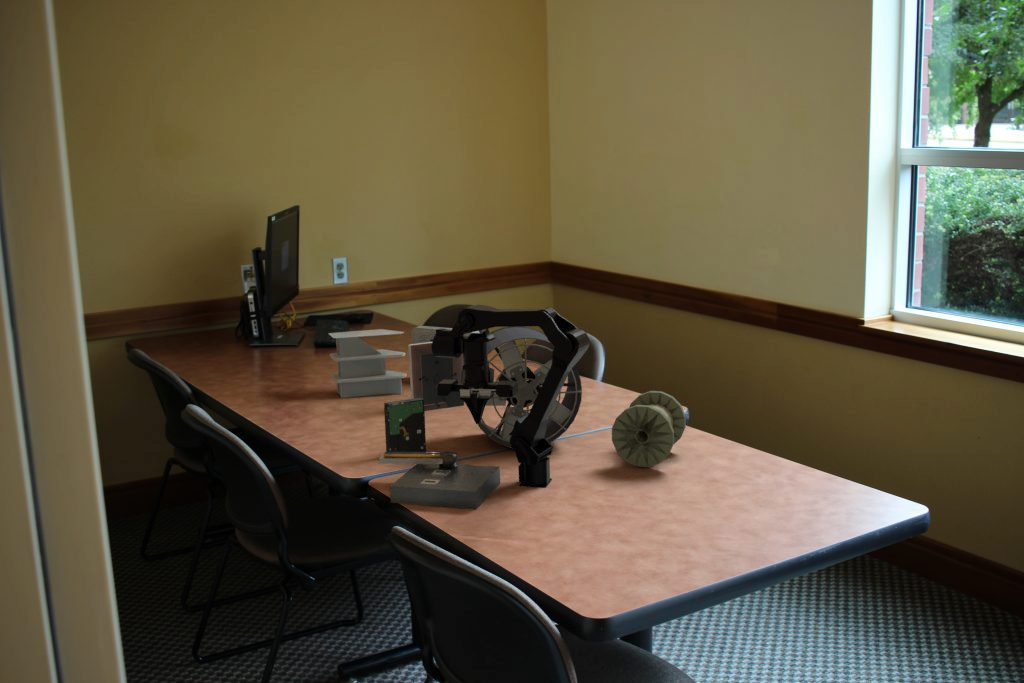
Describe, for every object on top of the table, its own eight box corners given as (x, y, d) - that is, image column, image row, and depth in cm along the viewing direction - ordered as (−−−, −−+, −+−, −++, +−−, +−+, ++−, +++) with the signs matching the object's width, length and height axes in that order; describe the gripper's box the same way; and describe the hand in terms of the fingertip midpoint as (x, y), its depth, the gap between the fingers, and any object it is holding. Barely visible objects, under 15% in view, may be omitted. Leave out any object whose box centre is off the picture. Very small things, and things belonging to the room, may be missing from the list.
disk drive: (422, 451, 259) (420, 396, 257) (427, 454, 257) (424, 398, 254) (385, 458, 254) (382, 402, 252) (389, 461, 252) (386, 404, 249)
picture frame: (460, 407, 305) (458, 338, 301) (464, 408, 303) (461, 339, 299) (411, 415, 297) (407, 344, 294) (414, 417, 295) (411, 345, 291)
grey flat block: (500, 483, 232) (499, 465, 232) (476, 509, 215) (475, 490, 215) (420, 478, 238) (419, 460, 237) (390, 503, 221) (389, 484, 220)
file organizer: (309, 397, 325) (304, 332, 321) (412, 386, 337) (409, 322, 333) (322, 415, 302) (317, 344, 298) (433, 402, 313) (430, 334, 309)
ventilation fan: (470, 456, 254) (466, 340, 249) (462, 436, 272) (458, 329, 267) (585, 447, 259) (583, 334, 253) (570, 429, 277) (567, 322, 271)
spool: (672, 469, 239) (672, 408, 236) (612, 464, 244) (611, 404, 242) (685, 449, 254) (685, 392, 252) (628, 445, 259) (627, 389, 257)
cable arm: (455, 468, 231) (455, 456, 230) (379, 467, 233) (378, 455, 232) (459, 462, 235) (458, 450, 234) (384, 461, 237) (383, 450, 237)
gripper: (521, 353, 239) (524, 416, 242) (447, 352, 243) (450, 414, 246) (511, 362, 228) (513, 428, 231) (433, 361, 233) (436, 425, 235)
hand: (478, 423), depth 236 cm, fingers closed
